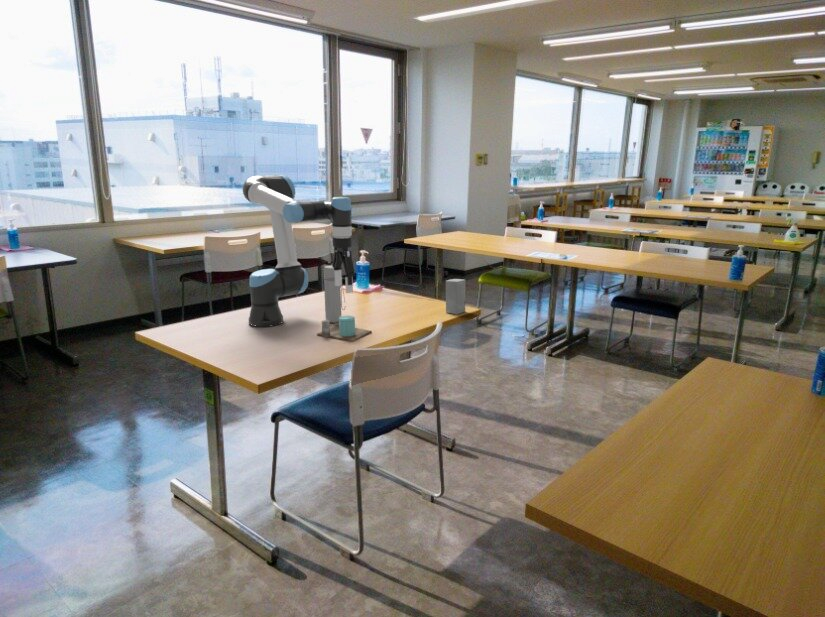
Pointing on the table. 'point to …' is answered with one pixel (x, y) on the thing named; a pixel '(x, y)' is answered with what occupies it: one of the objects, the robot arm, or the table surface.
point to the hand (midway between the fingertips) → (343, 289)
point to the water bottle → (332, 296)
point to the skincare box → (455, 296)
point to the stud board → (334, 333)
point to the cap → (347, 325)
